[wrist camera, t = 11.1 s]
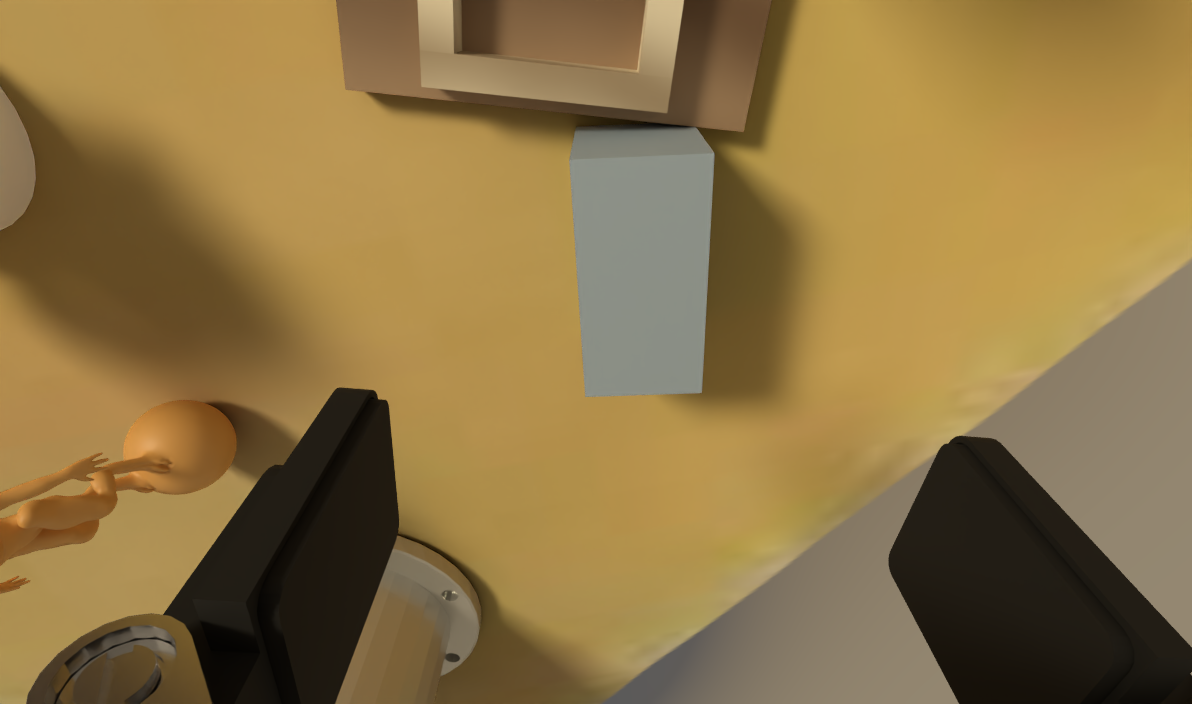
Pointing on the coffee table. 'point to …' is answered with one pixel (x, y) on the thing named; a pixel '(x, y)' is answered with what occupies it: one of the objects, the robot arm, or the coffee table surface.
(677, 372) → the wing block
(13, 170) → the character figurine
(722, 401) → the coffee table surface
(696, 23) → the jig
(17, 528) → the figurine
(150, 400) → the coffee table surface
